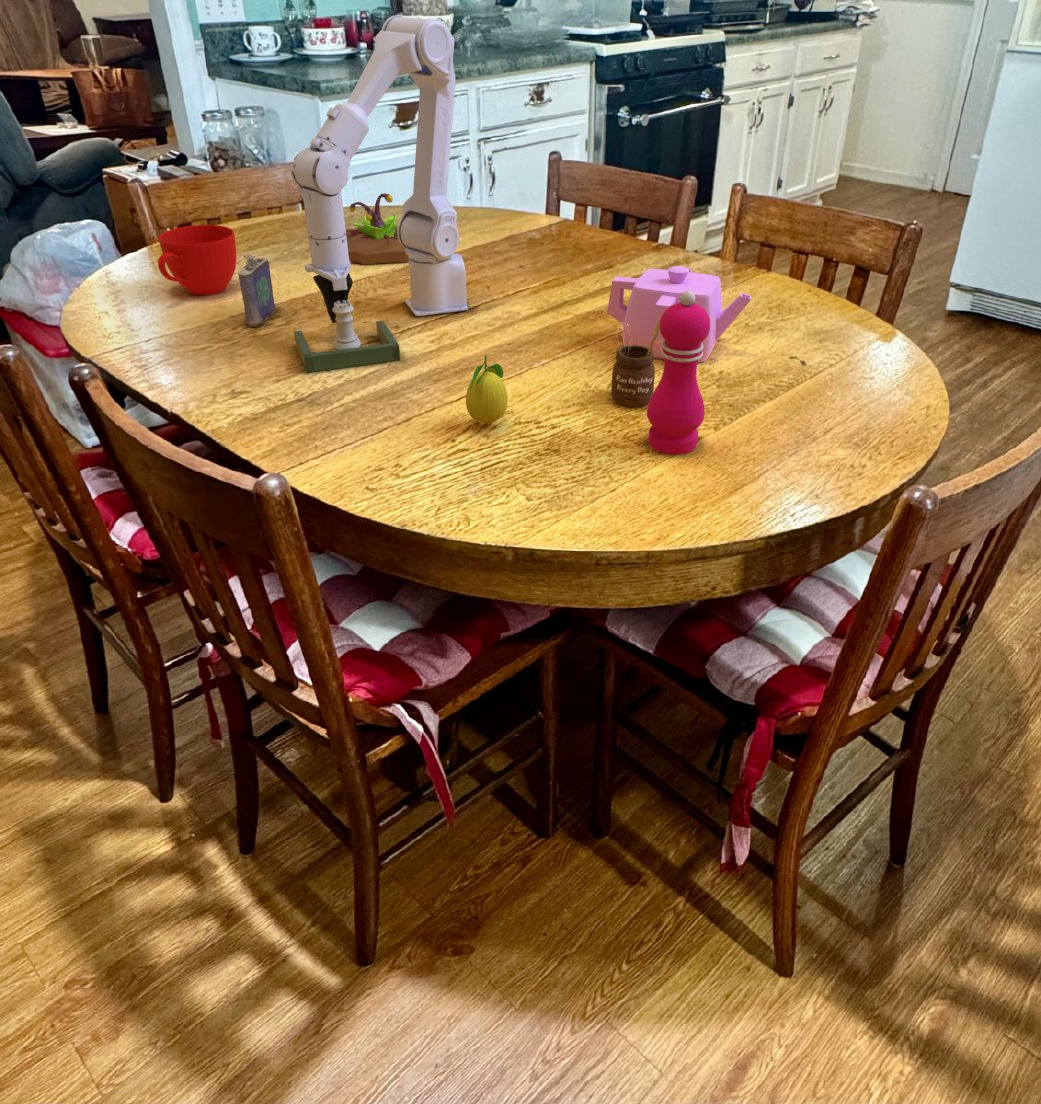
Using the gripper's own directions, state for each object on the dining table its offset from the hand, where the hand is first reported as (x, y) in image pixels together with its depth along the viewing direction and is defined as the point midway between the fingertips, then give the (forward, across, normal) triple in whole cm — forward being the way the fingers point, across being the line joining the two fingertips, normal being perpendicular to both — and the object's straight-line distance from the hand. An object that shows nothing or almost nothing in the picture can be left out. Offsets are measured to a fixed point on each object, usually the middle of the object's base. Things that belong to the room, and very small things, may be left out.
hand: (338, 320), depth 145 cm
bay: (+3, +6, 0) cm, 7 cm away
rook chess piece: (+3, +6, 0) cm, 7 cm away
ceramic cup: (+3, -31, -20) cm, 37 cm away
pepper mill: (+3, +51, +34) cm, 61 cm away
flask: (+3, -14, -11) cm, 18 cm away
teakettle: (+3, +21, +50) cm, 54 cm away
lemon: (+3, +38, +13) cm, 40 cm away
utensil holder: (+3, +37, +35) cm, 51 cm away
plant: (+3, -46, +17) cm, 49 cm away
